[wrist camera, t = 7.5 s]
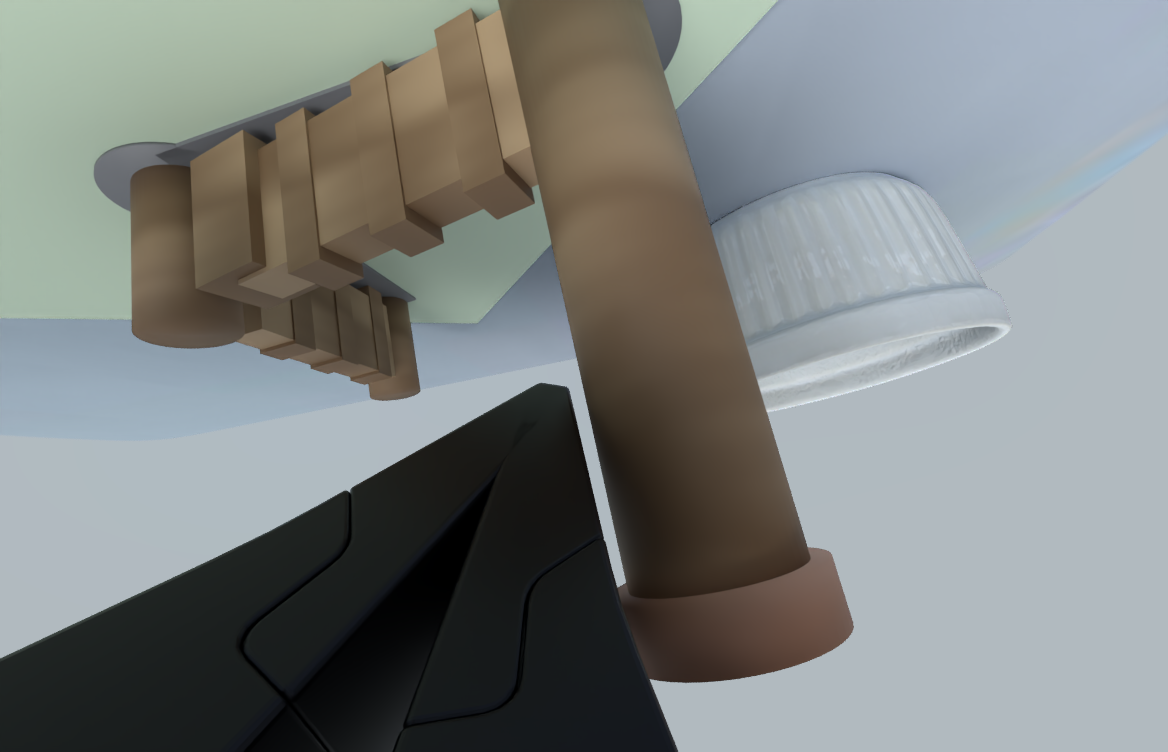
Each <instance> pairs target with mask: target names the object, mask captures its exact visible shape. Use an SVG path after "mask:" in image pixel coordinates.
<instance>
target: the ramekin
mask: <svg viewBox="0 0 1168 752" xmlns="http://www.w3.org/2000/svg"><path fill="white" fill-rule="evenodd" d="M711 229H712V233H713V236H714V239H715V242H716V246H717V249H718V252H719V256H720V259H721V262H722V266H723V269H724V272H725V276H726V279H727V282H728V285H729V289H730V292H731V295H732V299H733V302H734V305H735V309H736V312H737V315H738V319H739V322H740V325H741V329H742V332H743V335H744V338H745V342H746V345H747V348H748V352H749V355H750V358H751V362H752V365H753V368H754V372H755V375H756V378H757V381H758V385H759V388H760V391H761V395H762V398H763V401H764V405H765V408H766V411H767V412H771V411H775V410H781V409H785V408H789V407H794V406H798V405H803V404H807V403H811V402H815V401H819V400H823V399H827V398H831V397H835V396H839V395H842V394H846V393H850V392H853V391H857V390H860V389H864V388H867V387H871V386H874V385H878V384H881V383H885V382H888V381H891V380H894V379H897V378H901V377H904V376H907V375H910V374H913V373H916V372H919V371H922V370H925V369H928V368H931V367H934V366H937V365H939V364H942V363H945V362H948V361H950V360H953V359H956V358H958V357H961V356H964V355H966V354H968V353H971V352H974V351H976V350H978V349H980V348H983V347H985V346H987V345H989V344H991V343H993V342H995V341H996V340H998V339H1000V338H1002V337H1003V336H1004V335H1006V334H1007V333H1008V332H1009V331H1010V330H1011V328H1012V323H1011V320H1010V317H1009V314H1008V311H1007V308H1006V305H1005V303H1004V300H1003V298H1002V296H1001V295H1000V294H999V293H998V292H996V291H994V290H992V289H988V288H987V286H986V284H985V282H984V281H983V279H982V277H981V275H980V274H979V272H978V270H977V268H976V267H975V265H974V263H973V261H972V260H971V258H970V256H969V255H968V253H967V251H966V250H965V248H964V246H963V244H962V243H961V241H960V239H959V238H958V236H957V234H956V233H955V231H954V229H953V228H952V226H951V224H950V223H949V221H948V219H947V217H946V216H945V214H944V213H943V211H942V210H941V208H940V207H939V205H938V204H937V203H936V201H935V200H934V199H933V198H932V197H931V196H930V195H929V194H928V193H927V192H926V191H925V190H924V189H922V188H921V187H920V186H918V185H916V184H913V183H911V182H909V181H907V180H904V179H900V178H897V177H894V176H892V175H889V174H885V173H878V172H856V173H845V174H838V175H833V176H828V177H823V178H819V179H815V180H811V181H808V182H804V183H801V184H798V185H795V186H792V187H789V188H786V189H783V190H780V191H778V192H775V193H773V194H770V195H768V196H765V197H763V198H761V199H758V200H756V201H754V202H752V203H750V204H748V205H746V206H744V207H742V208H740V209H738V210H736V211H734V212H732V213H730V214H729V215H727V216H725V217H723V218H722V219H720V220H719V221H717V222H715V223H714V224H712V225H711Z"/></svg>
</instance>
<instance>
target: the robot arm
mask: <svg viewBox="0 0 1168 752" xmlns="http://www.w3.org/2000/svg"><path fill="white" fill-rule="evenodd" d="M0 752H678V750H677V747H676V745H675V742H674V740H673V737H672V735H671V732H670V730H669V727H668V725H667V722H666V719H665V717H664V714H663V712H662V710H661V707H660V704H659V702H658V699H657V697H656V694H655V692H654V690H653V687H652V685H651V682H650V679H649V677H648V674H647V672H646V669H645V667H644V664H643V662H642V659H641V657H640V654H639V651H638V649H637V646H636V643H635V640H634V637H633V635H632V632H631V629H630V626H629V623H628V621H627V618H626V615H625V612H624V609H623V607H622V603H621V600H620V596H619V593H618V589H617V585H616V582H615V578H614V575H613V571H612V567H611V564H610V559H609V555H608V551H607V546H606V542H605V541H604V537H603V533H602V529H601V524H600V520H599V516H598V512H597V507H596V503H595V498H594V494H593V490H592V486H591V481H590V477H589V473H588V468H587V464H586V460H585V455H584V451H583V447H582V442H581V438H580V434H579V430H578V425H577V421H576V417H575V412H574V408H573V404H572V400H571V396H570V391H569V389H568V388H567V387H565V386H559V385H552V384H546V383H539V384H537V385H535V386H533V387H531V388H529V389H527V390H526V391H524V392H522V393H520V394H518V395H517V396H515V397H513V398H511V399H510V400H508V401H506V402H504V403H502V404H501V405H499V406H497V407H495V408H493V409H492V410H490V411H488V412H486V413H484V414H483V415H481V416H479V417H477V418H476V419H474V420H472V421H470V422H468V423H467V424H465V425H463V426H461V427H459V428H458V429H456V430H454V431H452V432H450V433H449V434H447V435H445V436H443V437H442V438H440V439H438V440H436V441H435V442H433V443H431V444H429V445H427V446H425V447H424V448H422V449H420V450H418V451H416V452H415V453H413V454H411V455H409V456H408V457H406V458H404V459H402V460H400V461H399V462H397V463H395V464H393V465H392V466H390V467H388V468H386V469H384V470H383V471H381V472H379V473H377V474H375V475H374V476H372V477H370V478H368V479H367V480H365V481H363V482H361V483H359V484H357V485H356V486H354V487H352V488H351V490H350V492H348V491H343V492H341V493H339V494H338V495H336V496H334V497H332V498H330V499H329V500H327V501H325V502H323V503H321V504H320V505H318V506H316V507H314V508H312V509H310V510H309V511H307V512H305V513H303V514H301V515H299V516H297V517H295V518H294V519H291V520H290V521H288V522H286V523H284V524H282V525H280V526H278V527H276V528H275V529H273V530H271V531H269V532H267V533H265V534H263V535H261V536H259V537H257V538H255V539H253V540H251V541H249V542H246V543H244V544H242V545H240V546H238V547H236V548H234V549H232V550H230V551H228V552H226V553H224V554H222V555H220V556H218V557H216V558H214V559H212V560H210V561H207V562H205V563H203V564H201V565H199V566H197V567H195V568H193V569H190V570H188V571H186V572H184V573H182V574H180V575H178V576H175V577H173V578H171V579H169V580H167V581H165V582H163V583H160V584H159V585H156V586H154V587H152V588H150V589H148V590H146V591H144V592H141V593H139V594H137V595H135V596H133V597H131V598H128V599H126V600H124V601H122V602H120V603H118V604H116V605H114V606H111V607H109V608H107V609H105V610H103V611H101V612H99V613H97V614H94V615H92V616H90V617H88V618H86V619H84V620H82V621H80V622H77V623H75V624H73V625H71V626H69V627H67V628H64V629H62V630H61V631H58V632H56V633H54V634H52V635H50V636H47V637H45V638H43V639H41V640H39V641H37V642H35V643H33V644H30V645H28V646H26V647H24V648H22V649H20V650H18V651H15V652H13V653H11V654H9V655H7V656H5V657H3V658H0Z"/></svg>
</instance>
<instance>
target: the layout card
mask: <svg viewBox="0 0 1168 752" xmlns="http://www.w3.org/2000/svg"><path fill="white" fill-rule="evenodd" d="M642 1H643V4H644V7H645V11H646V14H647V17H648V21H649V24H650V27H651V31H652V34H653V37H654V40H655V44H656V47H657V50H658V54H659V57H660V60H661V64H662V67H663V70H664V74H665V77H666V80H667V84H668V87H669V90H670V93H671V97H672V100H673V103H674V107H675V110H677V108H678V107H679V106H680V105H681V104H682V103H683V102H684V101H685V100H686V99H687V98H688V97H689V96H690V95H691V93H692V92H693V91H694V90H695V89H696V88H697V87H698V86H699V85H700V84H701V83H702V82H703V81H704V79H705V78H706V77H707V76H708V75H709V74H710V73H711V72H712V71H713V70H714V69H715V68H716V67H717V65H718V64H719V63H720V62H721V61H722V60H723V59H724V58H725V57H726V56H727V55H728V54H729V53H730V52H731V50H732V49H733V48H734V47H735V46H736V45H737V44H738V43H739V42H740V41H741V40H742V39H743V38H744V36H745V35H746V34H747V33H748V32H749V31H750V30H751V29H752V28H753V27H754V26H755V25H756V24H757V22H758V21H759V20H760V19H761V18H762V17H763V16H764V15H765V14H766V13H767V12H768V11H769V10H770V9H771V7H772V6H773V5H774V4H775V3H776V2H777V1H778V0H642ZM470 8H471V9H472V10H473V12H474V13H475V14H476V16H477V17H478V19H479V20H480V21H481V20H482V19H484V18H486V17H488V16H489V15H491V14H493V13H495V12H496V11H498V10H500V8H499V3H498V0H0V318H31V319H121V320H132V297H131V211H130V180H131V177H132V175H133V174H134V173H135V172H137V171H138V170H140V169H142V168H145V167H148V166H153V165H181V166H187V167H190V161H192V160H193V159H195V158H197V157H198V156H200V155H202V154H203V153H205V152H207V151H208V150H210V149H212V148H213V147H215V146H216V145H218V144H220V143H221V142H223V141H225V140H226V139H228V138H230V137H231V136H233V135H235V134H236V133H238V132H240V131H241V130H244V131H246V132H247V133H249V134H251V135H252V136H254V137H256V138H257V139H259V140H261V141H262V142H264V143H266V144H269V143H270V142H272V141H274V140H276V131H275V124H276V123H278V122H280V121H281V120H283V119H285V118H286V117H288V116H290V115H291V114H293V113H295V112H296V111H298V110H300V109H301V108H303V107H304V108H306V109H307V110H308V111H310V112H311V113H312V114H314V115H315V116H317V115H319V114H320V113H322V112H324V111H326V110H327V109H329V108H331V107H332V106H334V105H336V104H338V103H339V102H341V101H343V100H344V99H346V98H348V97H350V96H351V87H350V79H352V78H354V77H355V76H357V75H359V74H361V73H362V72H364V71H366V70H367V69H369V68H371V67H372V66H374V65H376V64H377V63H379V62H381V61H383V62H384V63H385V64H386V65H387V66H388V67H389V68H390V69H391V70H392V71H394V70H396V69H398V68H400V67H401V66H403V65H405V64H407V63H408V62H410V61H412V60H413V59H415V58H417V57H419V56H420V55H422V54H424V53H426V52H427V51H429V50H431V49H432V48H434V47H436V46H437V44H436V38H435V33H434V30H435V29H436V28H438V27H440V26H442V25H443V24H445V23H447V22H448V21H450V20H452V19H453V18H455V17H457V16H458V15H460V14H462V13H463V12H465V11H467V10H469V9H470ZM532 191H533V196H534V200H535V204H533V205H531V206H528V207H526V208H524V209H522V210H519V211H517V212H515V213H512V214H510V215H508V216H505V217H503V218H501V219H498V220H497V219H496V218H494V217H493V216H492V215H491V214H489V213H488V212H487V211H486V210H485V209H482V210H480V211H478V212H476V213H473V214H471V215H469V216H467V217H465V218H462V219H460V220H458V221H456V222H453V223H451V224H449V225H447V226H444V227H442V233H443V239H444V243H443V244H441V245H439V246H436V247H434V248H432V249H429V250H427V251H425V252H422V253H420V254H418V255H415V256H413V257H409V256H407V255H405V254H403V253H402V252H400V251H398V250H396V249H393V250H390V251H388V252H386V253H384V254H381V255H379V256H377V257H375V258H373V259H370V260H368V261H366V262H364V263H362V266H363V274H364V278H362V279H360V280H358V281H356V282H353V283H351V284H349V285H350V286H352V287H354V288H356V289H358V288H361V287H365V286H368V285H369V286H370V287H372V288H373V289H375V290H377V291H378V292H380V293H381V297H397V298H401V299H403V300H405V301H406V302H407V303H408V309H409V316H410V323H478V322H479V321H480V320H481V319H482V318H483V317H484V316H485V315H486V314H487V313H488V312H489V311H490V309H491V308H492V307H493V306H494V305H495V304H496V303H497V302H498V301H499V300H500V299H501V298H502V297H503V295H504V294H505V293H506V292H507V291H508V290H509V289H510V288H511V287H512V286H513V285H514V284H515V283H516V282H517V280H518V279H519V278H520V277H521V276H522V275H523V274H524V273H525V272H526V271H527V270H528V269H529V268H530V266H531V265H532V264H533V263H534V262H535V261H536V260H537V259H538V258H539V257H540V256H541V255H542V254H543V252H544V251H545V250H546V249H547V248H548V247H549V246H550V245H551V244H552V243H551V239H550V234H549V230H548V225H547V221H546V216H545V212H544V207H543V203H542V198H541V194H540V189H539V185H536V186H534V187H532Z"/></svg>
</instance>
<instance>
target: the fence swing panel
mask: <svg viewBox="0 0 1168 752" xmlns="http://www.w3.org/2000/svg"><path fill="white" fill-rule="evenodd" d="M498 3H499V8H500V10H498V11H496V12H495V13H493V14H491V15H489V16H488V17H486V18H484V19H482V20H481V21H480V20H479V19H478V17H477V16H476V14H475V13H474V12H473V10H472V9H471V8H470V9H469V10H467V11H465V12H463V13H462V14H460V15H458V16H457V17H455V18H453V19H452V20H450V21H448V22H447V23H445V24H443V25H442V26H440V27H438V28H436V29H435V30H434V33H435V38H436V44H437V46H436V47H434V48H432V49H431V50H429V51H427V52H426V53H424V54H422V55H420V56H419V57H417V58H415V59H413V60H412V61H410V62H408V63H407V64H405V65H403V66H401V67H400V68H398V69H396V70H394V71H392V70H391V69H390V68H389V67H388V66H387V65H386V64H385V63H384V62H383V61H381V62H379V63H377V64H376V65H374V66H372V67H371V68H369V69H367V70H366V71H364V72H362V73H361V74H359V75H357V76H355V77H354V78H352V79H350V87H351V96H350V97H348V98H346V99H344V100H343V101H341V102H339V103H338V104H336V105H334V106H332V107H331V108H329V109H327V110H326V111H324V112H322V113H320V114H319V115H317V116H315V115H314V114H312V113H311V112H310V111H308V110H307V109H306V108H304V107H303V108H301V109H300V110H298V111H296V112H295V113H293V114H291V115H290V116H288V117H286V118H285V119H283V120H281V121H280V122H278V123H276V124H275V131H276V140H274V141H272V142H270V143H269V144H266V143H264V142H262V141H261V140H259V139H257V138H256V137H254V136H252V135H251V134H249V133H247V132H246V131H244V130H241V131H240V132H238V133H236V134H235V135H233V136H231V137H230V138H228V139H226V140H225V141H223V142H221V143H220V144H218V145H216V146H215V147H213V148H212V149H210V150H208V151H207V152H205V153H203V154H202V155H200V156H198V157H197V158H195V159H193V160H192V161H190V168H191V191H192V215H193V238H194V261H195V284H196V289H198V290H202V291H205V292H209V293H212V294H216V295H219V296H223V297H226V298H230V299H233V300H237V301H240V302H244V303H247V304H251V305H254V306H258V307H261V308H265V309H268V310H269V309H271V308H273V307H275V306H278V305H280V304H282V303H285V302H287V301H289V300H291V299H294V298H296V297H298V296H300V295H303V294H305V293H307V292H309V291H312V290H314V289H316V288H318V287H321V286H323V287H326V288H328V289H331V290H334V291H335V290H337V289H339V288H342V287H344V286H346V285H349V284H351V283H353V282H356V281H358V280H360V279H362V278H364V274H363V266H362V263H364V262H366V261H368V260H370V259H373V258H375V257H377V256H379V255H381V254H384V253H386V252H388V251H390V250H393V249H396V250H398V251H400V252H402V253H403V254H405V255H407V256H409V257H413V256H415V255H418V254H420V253H422V252H425V251H427V250H429V249H432V248H434V247H436V246H439V245H441V244H443V243H444V239H443V233H442V227H444V226H447V225H449V224H451V223H453V222H456V221H458V220H460V219H462V218H465V217H467V216H469V215H471V214H473V213H476V212H478V211H480V210H482V209H485V210H486V211H487V212H488V213H489V214H491V215H492V216H493V217H494V218H496V219H497V220H498V219H501V218H503V217H505V216H508V215H510V214H512V213H515V212H517V211H519V210H522V209H524V208H526V207H528V206H531V205H533V204H535V200H534V196H533V191H532V187H534V186H536V185H539V189H540V194H541V198H542V203H543V207H544V212H545V216H546V221H547V225H548V230H549V234H550V239H551V243H552V248H553V253H554V257H555V262H556V266H557V271H558V275H559V280H560V284H561V289H562V293H563V298H564V302H565V307H566V311H567V316H568V321H569V325H570V330H571V334H572V339H573V343H574V348H575V352H576V357H577V361H578V366H579V370H580V375H581V379H582V384H583V388H584V393H585V398H586V402H587V406H588V411H589V416H590V420H591V424H592V429H593V434H594V438H595V443H596V447H597V452H598V457H599V461H600V466H601V470H602V475H603V479H604V484H605V488H606V493H607V497H608V502H609V507H610V511H611V515H612V520H613V525H614V529H615V534H616V538H617V543H618V547H619V552H620V556H621V561H622V565H623V569H624V575H625V579H626V583H625V584H623V585H622V586H620V587H618V588H617V589H618V593H619V596H620V600H621V603H622V607H623V609H624V612H625V615H626V618H627V621H628V623H629V626H630V629H631V632H632V635H633V637H634V640H635V643H636V646H637V649H638V651H639V654H640V657H641V659H642V662H643V664H644V667H645V669H646V672H647V674H648V677H649V679H653V680H658V681H667V682H683V683H689V682H690V683H691V682H713V681H724V680H732V679H740V678H745V677H751V676H757V675H761V674H766V673H770V672H775V671H778V670H782V669H785V668H789V667H792V666H795V665H798V664H801V663H804V662H807V661H810V660H812V659H814V658H817V657H819V656H821V655H823V654H825V653H827V652H829V651H831V650H833V649H834V648H836V647H838V646H839V645H840V644H842V643H843V642H844V641H845V640H846V639H847V638H848V637H849V636H850V635H851V633H852V631H853V628H854V626H853V621H852V618H851V615H850V611H849V608H848V605H847V602H846V599H845V595H844V592H843V589H842V586H841V583H840V580H839V576H838V573H837V570H836V566H835V563H834V560H833V557H832V554H831V553H830V552H829V551H827V550H823V549H818V548H808V547H807V544H806V540H805V537H804V534H803V531H802V527H801V524H800V521H799V517H798V514H797V511H796V507H795V504H794V501H793V497H792V494H791V491H790V488H789V484H788V481H787V478H786V474H785V471H784V468H783V464H782V461H781V458H780V455H779V451H778V448H777V445H776V441H775V438H774V434H773V431H772V428H771V425H770V421H769V418H768V415H767V411H766V408H765V405H764V401H763V398H762V395H761V391H760V388H759V385H758V381H757V378H756V375H755V372H754V368H753V365H752V362H751V358H750V355H749V352H748V348H747V345H746V342H745V338H744V335H743V332H742V329H741V325H740V322H739V319H738V315H737V312H736V309H735V305H734V302H733V299H732V295H731V292H730V289H729V285H728V282H727V279H726V276H725V272H724V269H723V266H722V262H721V259H720V256H719V252H718V249H717V246H716V242H715V239H714V236H713V233H712V229H711V226H710V223H709V219H708V216H707V213H706V209H705V206H704V203H703V199H702V196H701V193H700V189H699V186H698V183H697V180H696V176H695V173H694V170H693V166H692V163H691V160H690V156H689V153H688V150H687V146H686V143H685V140H684V136H683V133H682V130H681V127H680V123H679V120H678V117H677V113H676V110H675V107H674V103H673V100H672V97H671V93H670V90H669V87H668V84H667V80H666V77H665V74H664V70H663V67H662V64H661V60H660V57H659V54H658V50H657V47H656V44H655V40H654V37H653V34H652V31H651V27H650V24H649V21H648V17H647V14H646V11H645V7H644V4H643V1H642V0H498Z"/></svg>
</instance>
